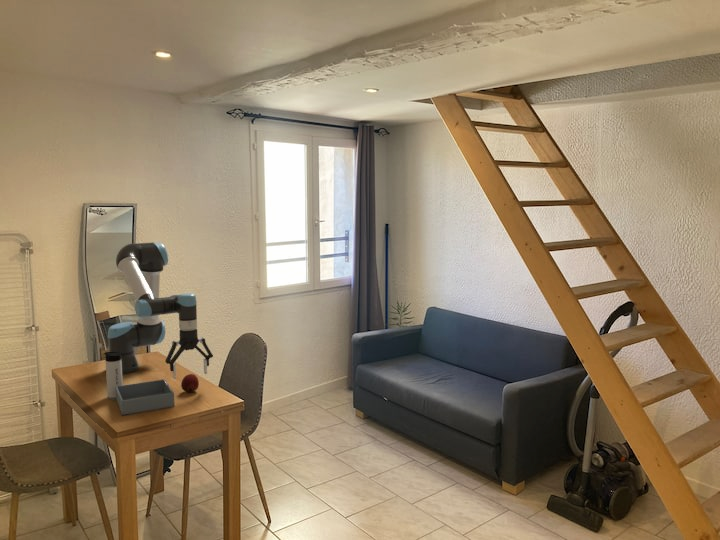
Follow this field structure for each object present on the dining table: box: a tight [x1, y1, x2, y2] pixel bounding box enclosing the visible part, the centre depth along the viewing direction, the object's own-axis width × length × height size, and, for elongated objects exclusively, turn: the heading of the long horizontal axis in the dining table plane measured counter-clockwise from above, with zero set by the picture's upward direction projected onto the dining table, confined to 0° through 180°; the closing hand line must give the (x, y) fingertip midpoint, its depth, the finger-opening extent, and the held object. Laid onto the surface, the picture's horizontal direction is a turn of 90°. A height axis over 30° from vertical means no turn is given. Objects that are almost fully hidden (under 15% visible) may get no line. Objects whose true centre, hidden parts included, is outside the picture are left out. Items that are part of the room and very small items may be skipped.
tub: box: [115, 378, 175, 417], centre depth 232 cm, size 20×20×6 cm
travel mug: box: [104, 351, 124, 401], centre depth 238 cm, size 6×7×20 cm
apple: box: [180, 373, 200, 393], centre depth 246 cm, size 7×8×8 cm
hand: (190, 375), depth 245 cm, fingers open, 13 cm apart
